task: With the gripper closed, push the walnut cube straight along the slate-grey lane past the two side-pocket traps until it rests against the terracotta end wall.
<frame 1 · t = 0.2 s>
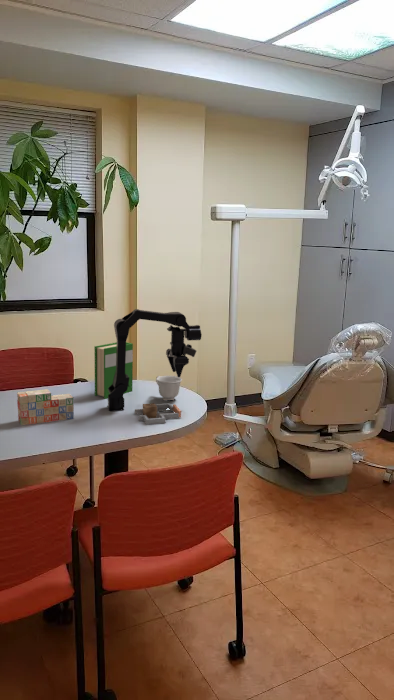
hand: (176, 374, 246), 14 cm above the table, fingers open, 9 cm apart
hardback book: (113, 393, 263), on the table
stack of blocks: (46, 420, 224), on the table
trap lane: (157, 415, 234), on the table
walnut block: (149, 416, 233), resting in trap lane
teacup: (166, 398, 258), on the table
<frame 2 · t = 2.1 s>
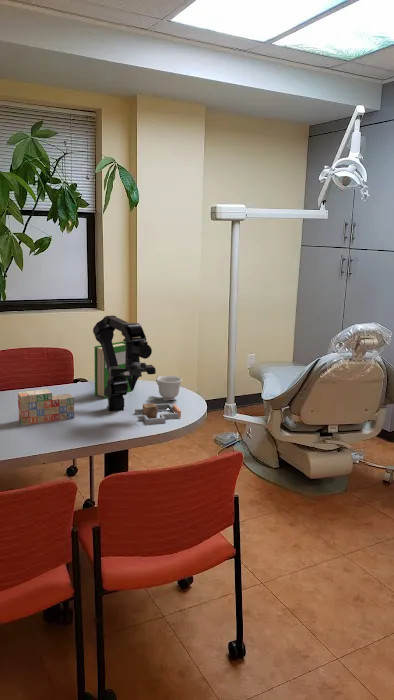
hand: (132, 390, 228), 12 cm above the table, fingers closed
nothing on the table moved.
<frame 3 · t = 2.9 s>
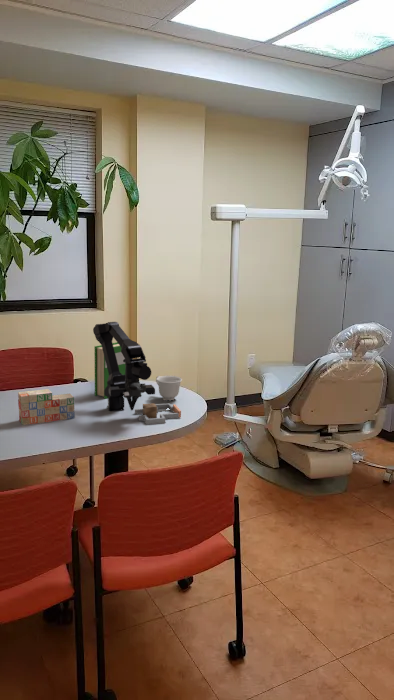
hand: (131, 410, 230), 3 cm above the table, fingers closed
nothing on the table moved.
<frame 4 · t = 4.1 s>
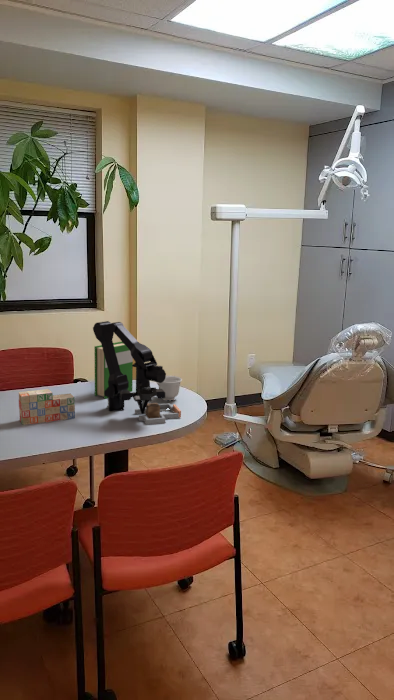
hand: (142, 413, 231), 1 cm above the table, fingers closed
walnut block: (152, 416, 233), resting in trap lane, touching gripper
everything else where it was.
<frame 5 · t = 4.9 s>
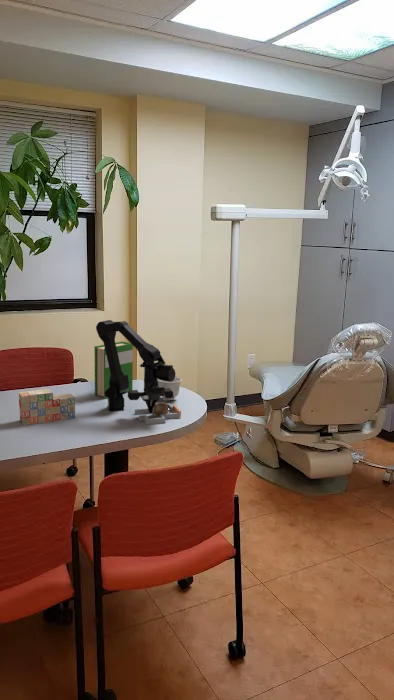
hand: (150, 413, 232), 1 cm above the table, fingers closed
walnut block: (160, 415, 234), resting in trap lane, touching gripper
everything else where it was.
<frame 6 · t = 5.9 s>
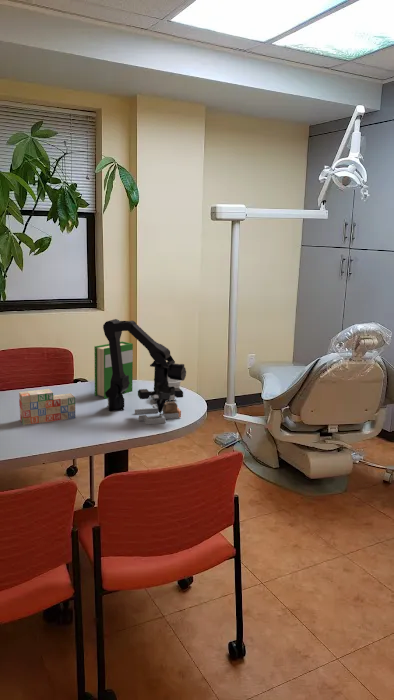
hand: (159, 412, 234), 1 cm above the table, fingers closed
walnut block: (170, 414, 235), resting in trap lane, touching gripper
everything else where it was.
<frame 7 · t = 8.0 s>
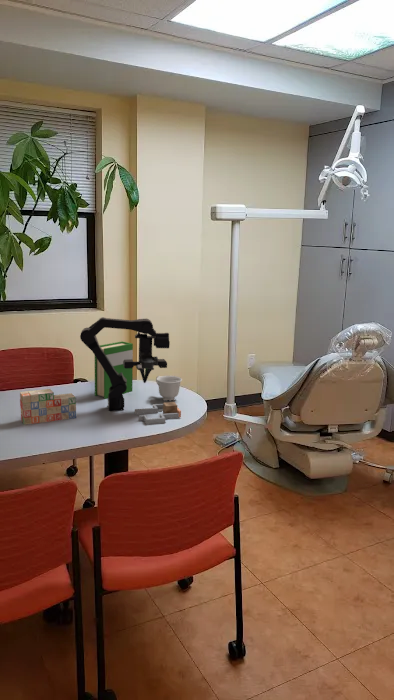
hand: (144, 382, 240), 12 cm above the table, fingers closed
walnut block: (169, 415, 235), resting in trap lane
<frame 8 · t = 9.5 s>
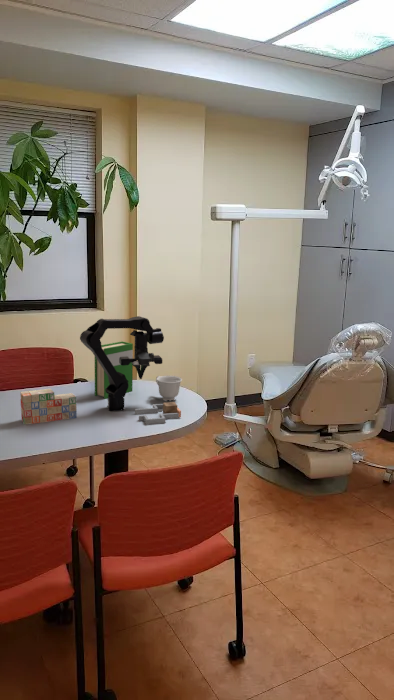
hand: (140, 378, 246), 12 cm above the table, fingers closed
at the end: walnut block 0.0 cm from the target spot on the trap lane, point 0.0 cm above the trap lane's base; walnut block moved 9.0 cm from its start; walnut block tilted 0° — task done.
